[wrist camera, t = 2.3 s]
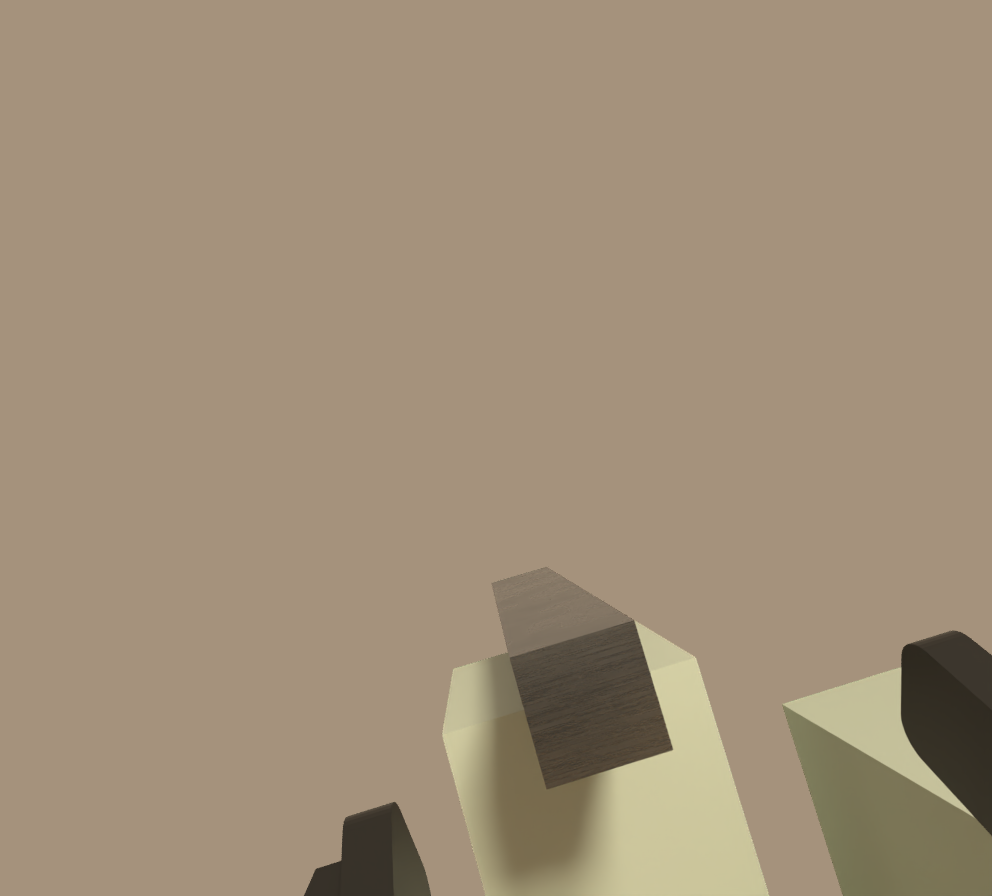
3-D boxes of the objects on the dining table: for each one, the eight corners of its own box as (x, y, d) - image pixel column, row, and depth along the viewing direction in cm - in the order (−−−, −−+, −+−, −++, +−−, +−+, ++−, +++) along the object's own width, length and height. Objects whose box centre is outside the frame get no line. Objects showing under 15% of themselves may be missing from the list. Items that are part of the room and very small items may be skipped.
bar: (546, 789, 18) (509, 657, 19) (507, 639, 42) (491, 583, 42) (673, 750, 18) (634, 620, 19) (563, 623, 42) (546, 567, 43)
